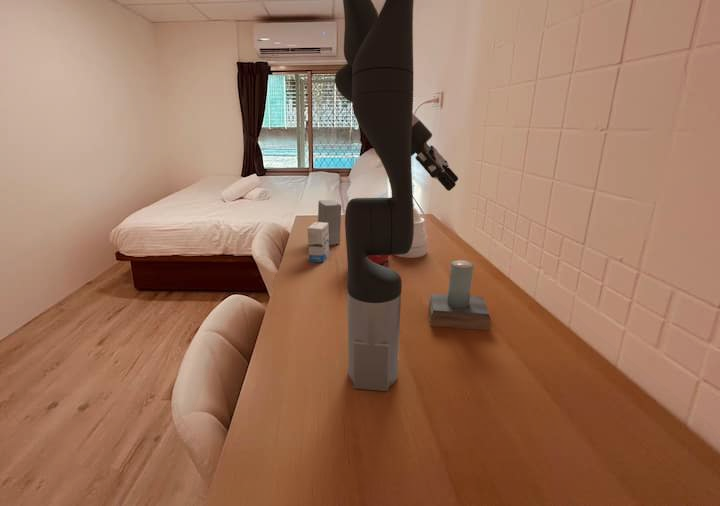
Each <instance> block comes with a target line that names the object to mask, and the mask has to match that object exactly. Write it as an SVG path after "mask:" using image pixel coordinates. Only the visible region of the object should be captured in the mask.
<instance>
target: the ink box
mask: <svg viewBox="0 0 720 506" xmlns="http://www.w3.org/2000/svg"><path fill="white" fill-rule="evenodd" d="M307 242H308V243H307V244H308V258H309V259H308V261H309V263H320V264H321V263H324V262H325V261H326V260H327V258H328V257H329V256H330V246H329V231H328V223H324V222H318V221H314V222H312V224H311V225H309V226H308V227H307Z"/></svg>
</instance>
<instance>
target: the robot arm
mask: <svg viewBox="0 0 720 506" xmlns="http://www.w3.org/2000/svg"><path fill="white" fill-rule="evenodd" d="M342 3H343V14H344V33H343V34H344V36H343V56H344V59H345V61H346V64H345V65H344V66H342V67H341V68H339V69H338V70H337V71H336V74H335V76H334V85H335V87H336V89H337V91H338V93H340V95H341V96H342V97H343V98H344V99H346V100H347V101H348V102H350V103H352V112H353V114H354V117H355V119H356V121H357V123H358V125H359V127H360V129H361V130H362V132H363V134H364V135H365V137H366V139H367V140H368V141H369V143H370V145H371V146H372V148H373V149H374V151H375V152H376V154H377V156H378V157H379V160H380V162H381V164H382V166H383V168H384V170H385V172H386V175H387V179H388V180H389V181H388V182H389V185H390V191H391V196H390V197H356V198H355V197H354V198H352V199H350V200H349V201H348V203H347V204H346V208H345V211H344V212H345V213H344V225H345V227H344V229H345V230H344V231H345V243H346V259H347V357H348V367H347V368H348V377H349V380H350V381H351V382H352V388H353V389H356V390H357V389H358V390H368V391H377V392H379V391H380V392H389V388H390V387H391V386H392V385H393V384H394V383H395V382H396V381H397V379H398V374H399V373H398V371H399V355H400V353H399V352H400V351H399V350H400V349H399V348H400V347H399V346H400V329H401V326H400V325H401V305H402V286H403V285H402V283H403V282H402V277H401V275H400V274H399V273H398V271H395V270H394V269H392V268H390V267H388V268H387V267H385V266H382V265H379V264H376V263H374V262H372V261H371V260H369V259H368V258H367V257H366V256H367V255H389V256H396V255H401V254H406V253H408V252H409V250H410V249H411V246H412V242H413V234H414V215H413V203H414V196H413V178H412V177H413V175H412V173H413V172H412V157H413V156H414V155H415V154H416V156H415V160H416V161H417V162H418V163H419V164H420V165H421V166H422V167H423V169H424V170H425V171H426V172H427V173H428V175H429V176H430V177H431V178H433V179H435V180H437V181H438V182H439V183H440V184H441V185H442V186H443V187H444V188H445V189H446V190H447V191H451V190H452V189H454V187H456V185H457V184H456V182H457V181H458V180H459V177H458V176H457V174H455V173H454V171H453V170H452V169H451V168H450V167H449V162H448V161H447V160H446V159H445V158H444V156H442V154H440V153H439V152H438V150H437V148H435V146H434V145H432V144H430V145H429V144H428V141H430V140H431V138H432V137H433V134H432V132H431V131H430V130H429V128H427V126H426V125H425V124H424V122H422V121H421V119H419V117H418V116H417V115H416V114H415V113H414V112H413V109H414V108H413V107H414V22H413V21H414V0H385V2H384V3H383V6H382V9H381V10H380V12H378V10H377V7H376V6H375V4H374V2H373V1H372V0H342Z"/></svg>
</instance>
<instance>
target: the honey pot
mask: <svg viewBox="0 0 720 506" xmlns="http://www.w3.org/2000/svg"><path fill="white" fill-rule="evenodd" d="M413 215H414V234H413V242H412V246H411V249H410V250H409V252H408V253H406V254H401V255H395V256H397V257H401V258H407V259H408V258H411V259H412V258H413V259H414V258H421V257H423V256H425V255H426V254H427V251H428V250H427V249H428V248H427V247H428V237H427V233H426V231H425V230H426V229H425V227H424V224H425V222H426V220H425V219H424V218H423V217H421V216H420V213H419V211H418V209H417V208H416V207H415V202H413Z"/></svg>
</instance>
